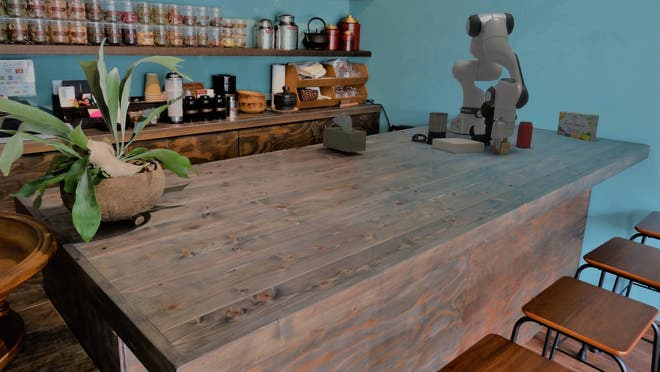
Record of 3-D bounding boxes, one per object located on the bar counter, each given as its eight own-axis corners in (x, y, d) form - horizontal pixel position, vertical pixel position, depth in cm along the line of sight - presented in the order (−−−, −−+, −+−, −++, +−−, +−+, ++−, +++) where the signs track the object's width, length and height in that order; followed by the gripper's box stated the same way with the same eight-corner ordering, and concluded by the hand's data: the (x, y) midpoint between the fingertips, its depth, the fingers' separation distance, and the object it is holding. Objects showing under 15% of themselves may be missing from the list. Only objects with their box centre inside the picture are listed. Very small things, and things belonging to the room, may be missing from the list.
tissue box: (322, 145, 224) (323, 110, 221) (340, 144, 230) (341, 109, 226) (348, 152, 209) (349, 114, 206) (366, 151, 215) (368, 113, 211)
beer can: (528, 148, 239) (531, 123, 237) (514, 146, 243) (517, 121, 240) (532, 147, 244) (535, 122, 242) (518, 145, 248) (521, 120, 246)
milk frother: (447, 145, 238) (450, 114, 235) (414, 144, 239) (416, 112, 235) (442, 141, 252) (444, 111, 249) (410, 140, 252) (412, 110, 249)
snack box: (555, 138, 284) (559, 111, 280) (562, 137, 286) (566, 111, 282) (588, 143, 265) (592, 114, 261) (595, 143, 267) (600, 114, 264)
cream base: (432, 147, 230) (432, 138, 229) (459, 146, 237) (460, 137, 236) (454, 153, 216) (455, 144, 215) (483, 151, 223) (484, 142, 222)
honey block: (491, 152, 223) (493, 141, 222) (500, 151, 226) (501, 140, 224) (500, 154, 219) (501, 142, 218) (508, 153, 221) (510, 142, 220)
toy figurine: (489, 148, 236) (495, 93, 230) (461, 142, 252) (466, 91, 246) (504, 147, 240) (510, 93, 234) (476, 141, 256) (481, 91, 251)
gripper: (504, 118, 209) (500, 151, 212) (518, 115, 225) (514, 146, 228) (489, 117, 212) (485, 149, 215) (504, 114, 228) (500, 145, 232)
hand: (500, 148), depth 222 cm, fingers closed on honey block, 6 cm apart
